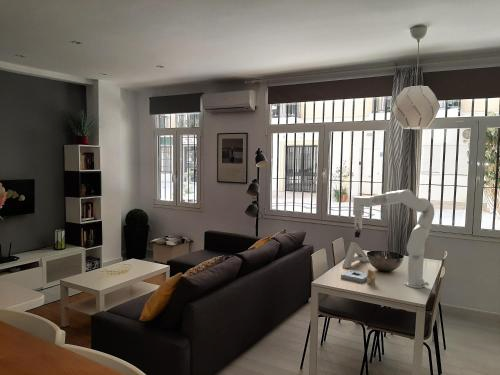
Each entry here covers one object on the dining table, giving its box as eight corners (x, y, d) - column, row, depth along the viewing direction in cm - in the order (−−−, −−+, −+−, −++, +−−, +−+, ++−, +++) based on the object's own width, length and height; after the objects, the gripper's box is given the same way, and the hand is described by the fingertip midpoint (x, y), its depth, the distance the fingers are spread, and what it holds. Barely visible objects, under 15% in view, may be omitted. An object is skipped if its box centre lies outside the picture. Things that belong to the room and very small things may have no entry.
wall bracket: (361, 282, 323) (347, 267, 303) (356, 281, 326) (342, 266, 306) (369, 258, 330) (356, 242, 311) (364, 257, 333) (351, 241, 314)
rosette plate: (370, 277, 282) (371, 273, 282) (362, 283, 270) (362, 279, 270) (350, 273, 292) (350, 269, 292) (340, 278, 280) (340, 274, 279)
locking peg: (374, 283, 269) (375, 269, 269) (372, 285, 266) (373, 270, 266) (369, 282, 272) (369, 268, 271) (367, 283, 269) (367, 269, 268)
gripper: (363, 214, 277) (362, 238, 278) (364, 211, 293) (363, 234, 294) (352, 214, 279) (351, 237, 280) (354, 211, 295) (353, 233, 297)
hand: (357, 236), depth 287 cm, fingers open, 9 cm apart
